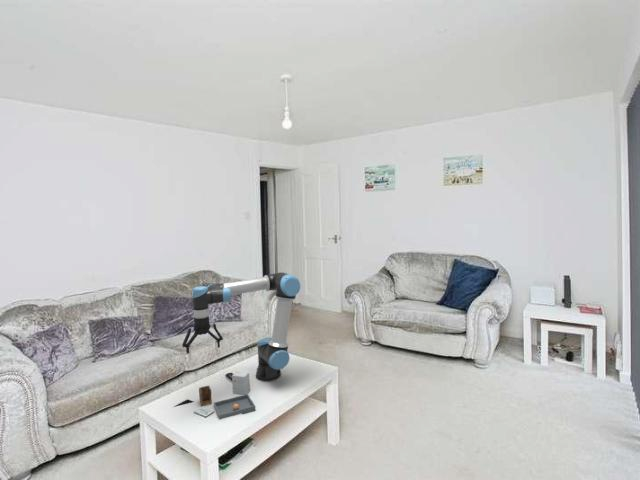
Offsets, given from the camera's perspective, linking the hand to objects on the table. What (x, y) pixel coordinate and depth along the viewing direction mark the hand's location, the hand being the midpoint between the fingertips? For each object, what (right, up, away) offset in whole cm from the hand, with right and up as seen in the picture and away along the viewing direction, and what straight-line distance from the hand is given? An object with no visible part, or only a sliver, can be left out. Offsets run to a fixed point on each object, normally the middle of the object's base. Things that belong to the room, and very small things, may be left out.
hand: (203, 356), depth 191 cm
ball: (+19, -24, -8) cm, 32 cm away
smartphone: (-12, -27, -2) cm, 29 cm away
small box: (+17, -25, +13) cm, 33 cm away
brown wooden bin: (0, -25, +2) cm, 26 cm away
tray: (+17, -25, -5) cm, 31 cm away
